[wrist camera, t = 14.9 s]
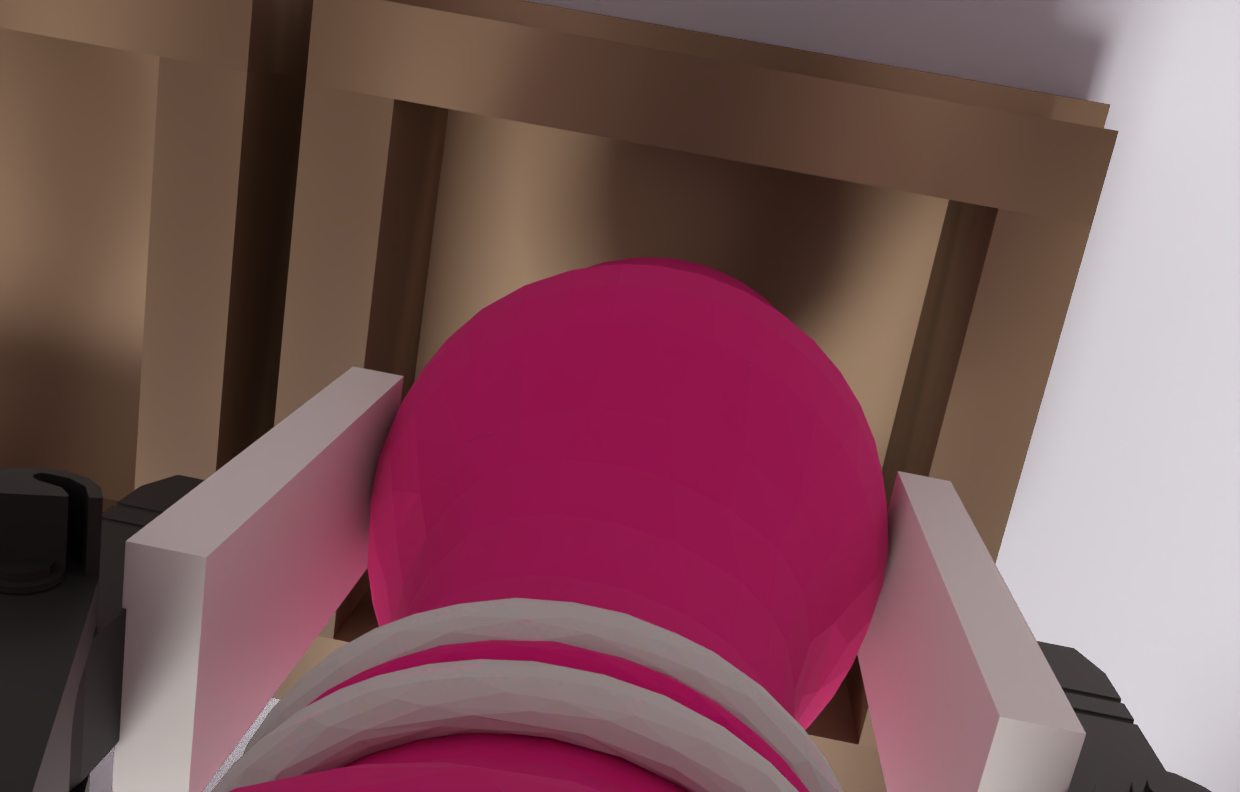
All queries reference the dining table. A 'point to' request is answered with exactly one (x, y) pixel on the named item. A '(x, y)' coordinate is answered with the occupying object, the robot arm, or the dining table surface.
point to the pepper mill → (602, 555)
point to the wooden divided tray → (505, 226)
